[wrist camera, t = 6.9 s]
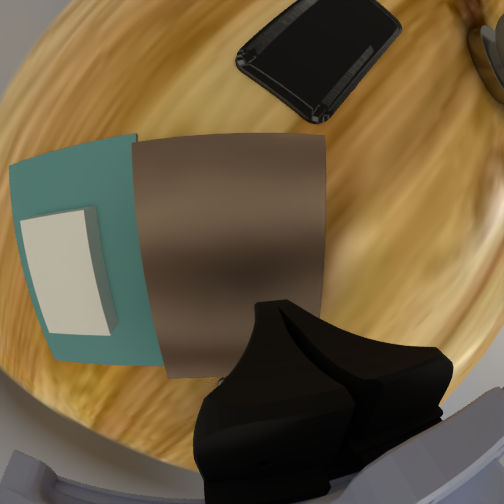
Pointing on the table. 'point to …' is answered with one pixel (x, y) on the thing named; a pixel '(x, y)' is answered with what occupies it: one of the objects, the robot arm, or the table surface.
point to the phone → (318, 52)
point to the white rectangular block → (69, 272)
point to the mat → (111, 235)
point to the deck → (227, 238)
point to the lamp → (489, 56)
